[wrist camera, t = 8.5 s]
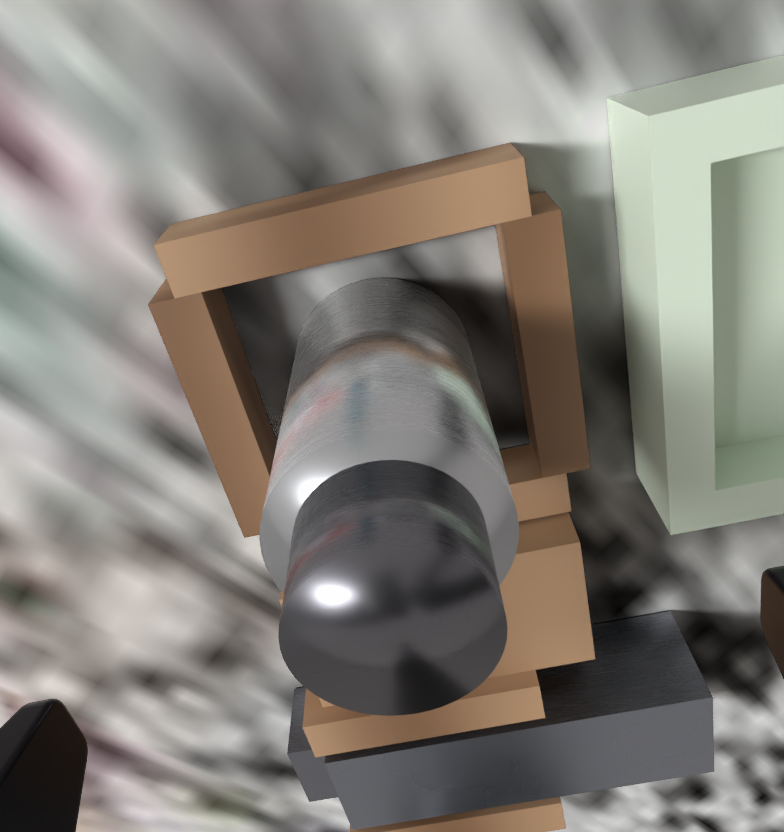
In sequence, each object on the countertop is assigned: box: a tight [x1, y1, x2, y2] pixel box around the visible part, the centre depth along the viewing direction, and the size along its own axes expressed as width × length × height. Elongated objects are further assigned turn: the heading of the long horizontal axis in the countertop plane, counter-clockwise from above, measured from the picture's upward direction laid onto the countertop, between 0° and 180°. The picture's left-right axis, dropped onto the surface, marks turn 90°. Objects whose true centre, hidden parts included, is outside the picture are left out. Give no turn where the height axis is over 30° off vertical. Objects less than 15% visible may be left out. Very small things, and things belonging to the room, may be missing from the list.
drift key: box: [287, 611, 714, 830], centre depth 21 cm, size 11×3×3 cm, turn 103°
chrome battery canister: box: [260, 278, 519, 716], centre depth 14 cm, size 4×4×8 cm
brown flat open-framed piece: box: [148, 143, 595, 832], centre depth 18 cm, size 8×18×3 cm, turn 13°
